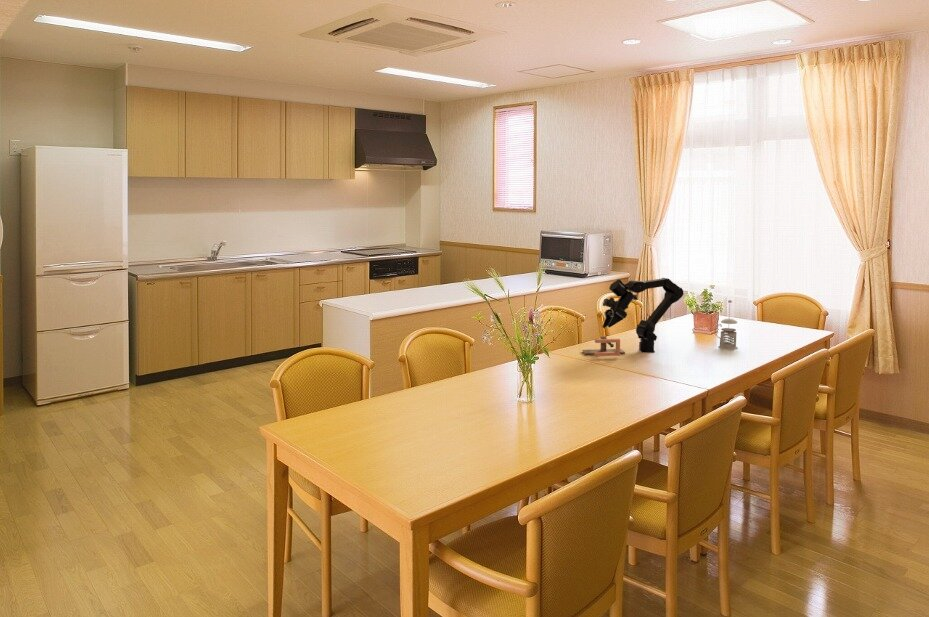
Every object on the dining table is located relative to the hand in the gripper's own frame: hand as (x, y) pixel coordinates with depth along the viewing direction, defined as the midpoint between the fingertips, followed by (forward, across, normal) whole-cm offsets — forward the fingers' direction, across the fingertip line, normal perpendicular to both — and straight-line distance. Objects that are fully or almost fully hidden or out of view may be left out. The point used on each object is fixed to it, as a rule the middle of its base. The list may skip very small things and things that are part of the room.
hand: (605, 327), depth 348 cm
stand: (+11, -3, +9) cm, 15 cm away
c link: (+11, +2, +8) cm, 14 cm away
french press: (-32, -11, +60) cm, 69 cm away
